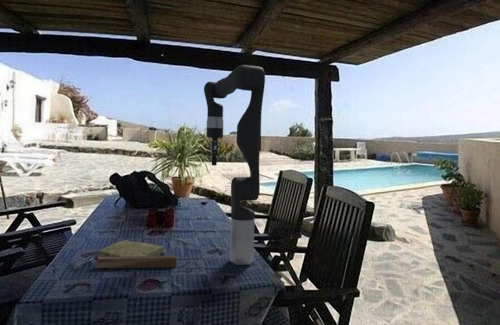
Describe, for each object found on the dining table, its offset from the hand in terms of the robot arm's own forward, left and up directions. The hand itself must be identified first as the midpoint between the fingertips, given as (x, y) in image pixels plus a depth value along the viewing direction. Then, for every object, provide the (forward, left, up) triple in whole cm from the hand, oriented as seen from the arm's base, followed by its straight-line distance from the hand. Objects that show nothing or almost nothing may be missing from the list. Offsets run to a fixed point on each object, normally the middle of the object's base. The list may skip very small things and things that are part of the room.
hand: (214, 165), depth 170 cm
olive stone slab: (-18, +34, -36) cm, 52 cm away
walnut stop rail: (-32, +29, -35) cm, 55 cm away
